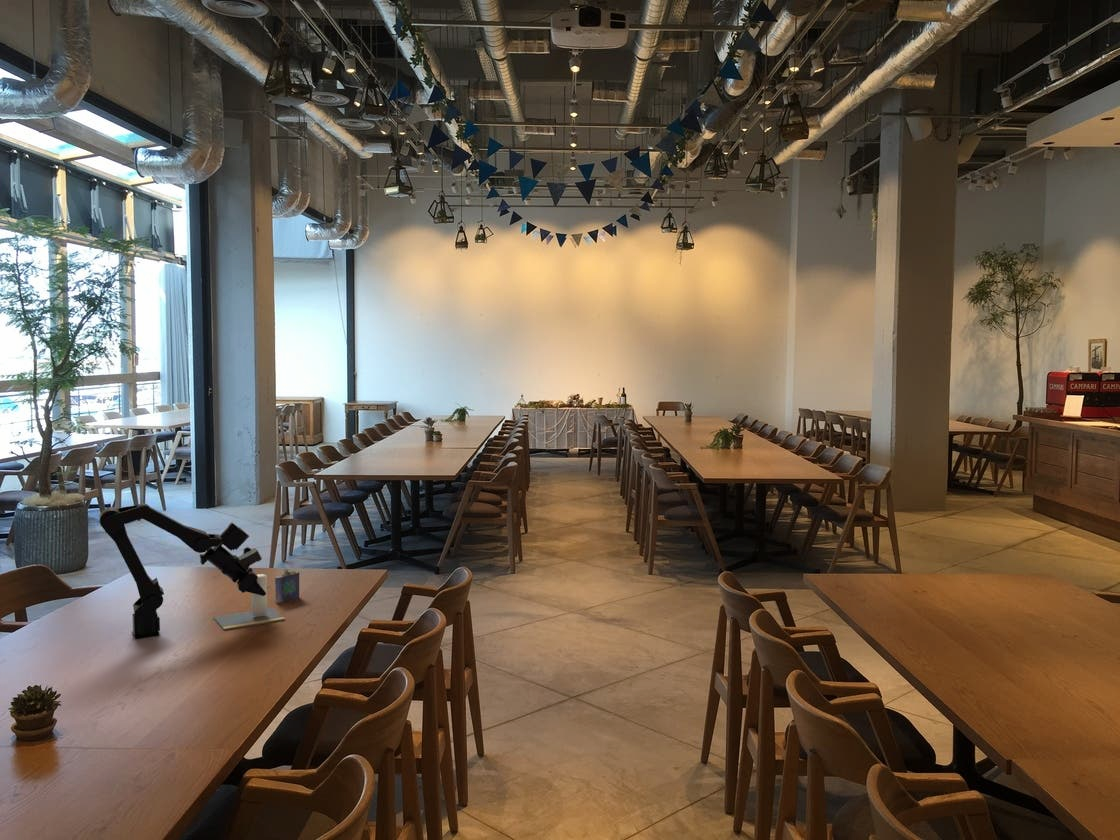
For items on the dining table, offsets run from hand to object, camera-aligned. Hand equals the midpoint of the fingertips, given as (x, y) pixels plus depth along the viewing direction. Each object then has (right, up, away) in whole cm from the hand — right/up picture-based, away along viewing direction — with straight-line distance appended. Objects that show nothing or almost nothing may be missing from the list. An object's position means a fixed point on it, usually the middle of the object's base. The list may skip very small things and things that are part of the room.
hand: (263, 592), depth 270 cm
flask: (+1, -7, +20) cm, 21 cm away
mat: (-4, -8, -1) cm, 9 cm away
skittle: (-1, -7, 0) cm, 7 cm away
